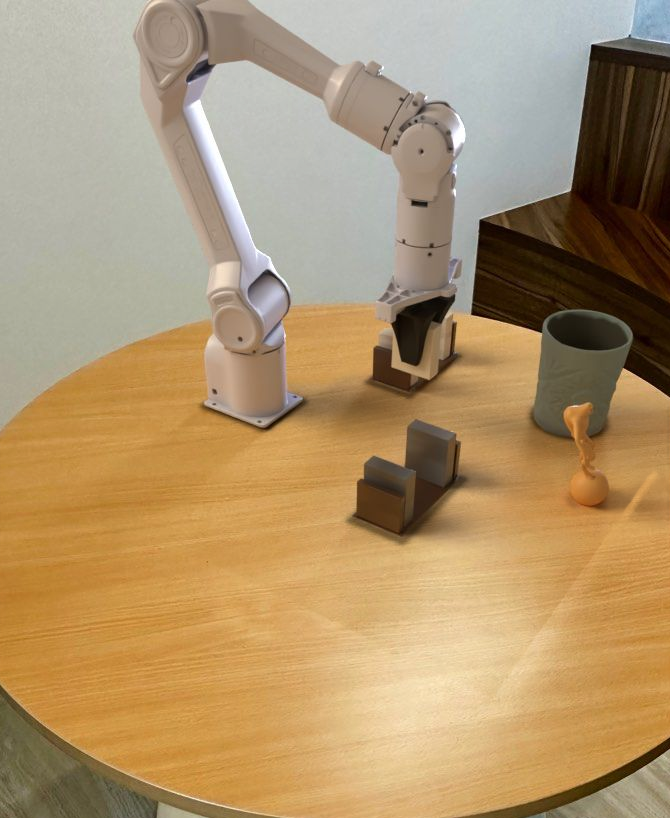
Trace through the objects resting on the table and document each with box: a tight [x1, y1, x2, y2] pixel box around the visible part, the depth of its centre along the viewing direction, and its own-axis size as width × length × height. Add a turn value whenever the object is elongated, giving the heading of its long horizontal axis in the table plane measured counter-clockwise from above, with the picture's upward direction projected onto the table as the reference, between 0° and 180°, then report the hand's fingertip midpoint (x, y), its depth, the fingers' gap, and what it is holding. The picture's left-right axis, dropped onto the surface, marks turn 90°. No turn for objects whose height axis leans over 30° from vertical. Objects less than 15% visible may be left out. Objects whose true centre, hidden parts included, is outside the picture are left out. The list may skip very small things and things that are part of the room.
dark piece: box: [368, 311, 458, 393], centre depth 114 cm, size 6×13×7 cm, turn 147°
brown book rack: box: [351, 418, 462, 538], centre depth 92 cm, size 6×13×7 cm, turn 147°
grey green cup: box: [533, 309, 634, 439], centre depth 103 cm, size 10×10×12 cm
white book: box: [391, 321, 442, 381], centre depth 97 cm, size 5×2×6 cm, turn 56°
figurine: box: [564, 403, 610, 507], centre depth 91 cm, size 8×6×12 cm
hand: (415, 358), depth 98 cm, fingers closed on white book, 2 cm apart
